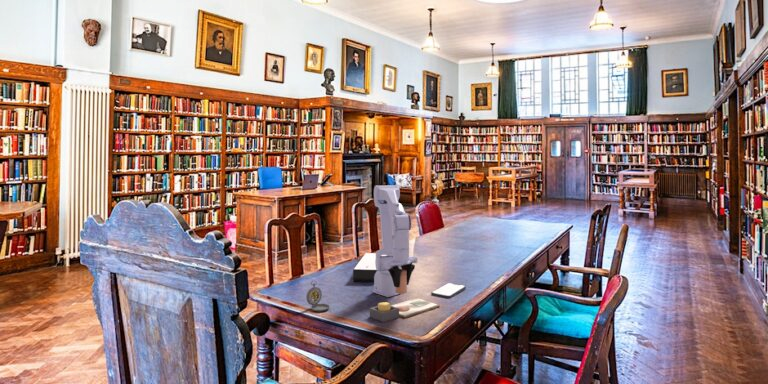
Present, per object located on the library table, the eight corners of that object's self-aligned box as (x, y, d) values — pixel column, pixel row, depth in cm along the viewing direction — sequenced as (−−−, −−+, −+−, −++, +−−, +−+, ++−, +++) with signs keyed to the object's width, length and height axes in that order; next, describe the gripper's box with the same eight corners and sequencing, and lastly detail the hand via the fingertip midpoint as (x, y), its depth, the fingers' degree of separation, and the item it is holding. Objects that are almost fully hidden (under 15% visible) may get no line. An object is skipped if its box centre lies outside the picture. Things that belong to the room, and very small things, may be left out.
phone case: (449, 300, 175) (466, 289, 188) (449, 296, 175) (466, 285, 188) (429, 296, 180) (447, 286, 193) (429, 292, 180) (447, 282, 193)
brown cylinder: (393, 292, 160) (393, 270, 160) (401, 289, 163) (401, 268, 163) (401, 294, 158) (401, 272, 157) (409, 292, 160) (409, 270, 160)
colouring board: (381, 309, 162) (381, 307, 162) (416, 299, 174) (416, 297, 174) (404, 318, 153) (404, 316, 153) (439, 306, 165) (439, 304, 165)
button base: (369, 316, 156) (369, 308, 155) (385, 311, 160) (385, 303, 160) (383, 322, 150) (383, 313, 150) (399, 317, 155) (399, 308, 155)
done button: (375, 312, 155) (375, 304, 155) (384, 309, 158) (384, 301, 158) (383, 315, 152) (383, 307, 152) (393, 312, 155) (393, 304, 155)
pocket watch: (326, 312, 160) (325, 285, 159) (303, 311, 161) (303, 284, 161) (332, 305, 168) (332, 279, 167) (311, 304, 169) (310, 278, 169)
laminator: (378, 283, 198) (377, 269, 197) (350, 282, 199) (350, 269, 199) (386, 265, 231) (386, 253, 231) (363, 264, 233) (363, 252, 232)
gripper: (393, 252, 151) (393, 292, 152) (423, 246, 161) (423, 283, 162) (380, 249, 157) (380, 287, 158) (409, 244, 166) (409, 280, 167)
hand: (401, 285), depth 160 cm, fingers closed on brown cylinder, 4 cm apart
